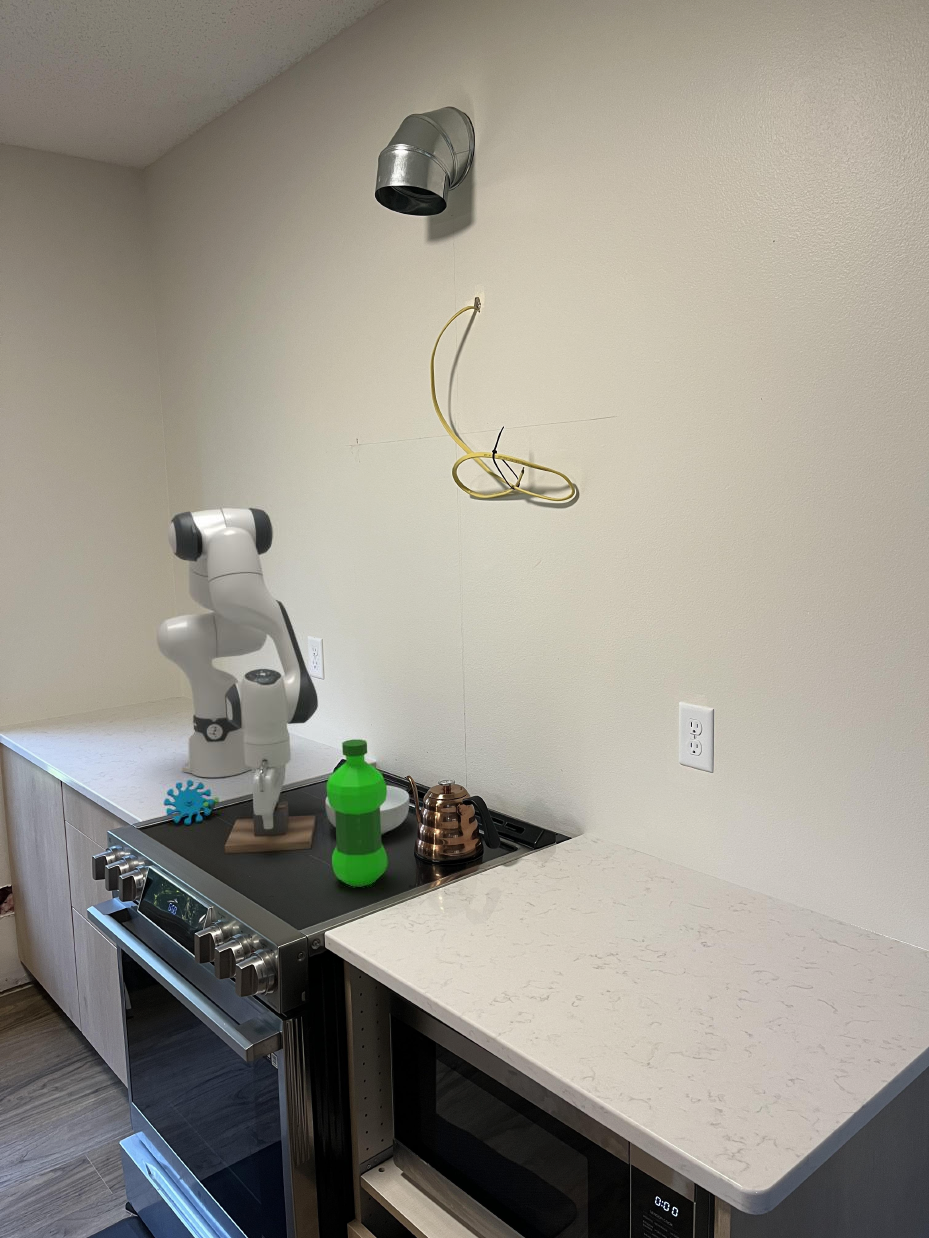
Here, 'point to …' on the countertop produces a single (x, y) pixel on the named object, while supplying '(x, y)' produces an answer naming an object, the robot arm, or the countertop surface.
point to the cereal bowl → (385, 809)
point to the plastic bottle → (357, 817)
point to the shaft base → (271, 836)
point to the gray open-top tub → (279, 821)
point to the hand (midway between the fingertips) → (271, 820)
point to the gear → (190, 802)
